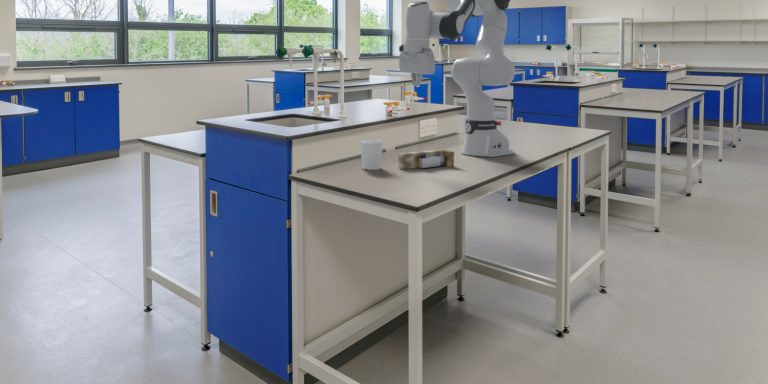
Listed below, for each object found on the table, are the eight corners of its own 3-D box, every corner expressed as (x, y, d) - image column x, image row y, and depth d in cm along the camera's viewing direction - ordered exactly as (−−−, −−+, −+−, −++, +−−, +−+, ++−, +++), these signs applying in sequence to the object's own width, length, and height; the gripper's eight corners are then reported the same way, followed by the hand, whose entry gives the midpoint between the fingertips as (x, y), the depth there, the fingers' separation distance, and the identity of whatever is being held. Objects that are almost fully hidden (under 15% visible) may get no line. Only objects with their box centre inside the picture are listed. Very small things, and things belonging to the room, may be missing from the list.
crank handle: (441, 164, 232) (441, 150, 231) (445, 165, 230) (446, 152, 228) (417, 166, 226) (418, 153, 225) (422, 168, 224) (422, 154, 223)
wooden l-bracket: (445, 163, 235) (445, 149, 234) (453, 166, 230) (454, 151, 229) (398, 168, 226) (398, 153, 225) (406, 171, 221) (406, 156, 220)
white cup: (368, 171, 220) (369, 143, 217) (356, 167, 226) (356, 140, 224) (386, 169, 224) (386, 141, 222) (373, 165, 231) (374, 138, 228)
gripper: (440, 48, 219) (438, 87, 222) (410, 47, 237) (410, 83, 240) (424, 48, 216) (423, 88, 219) (396, 47, 234) (395, 84, 237)
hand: (416, 85), depth 230 cm, fingers closed
